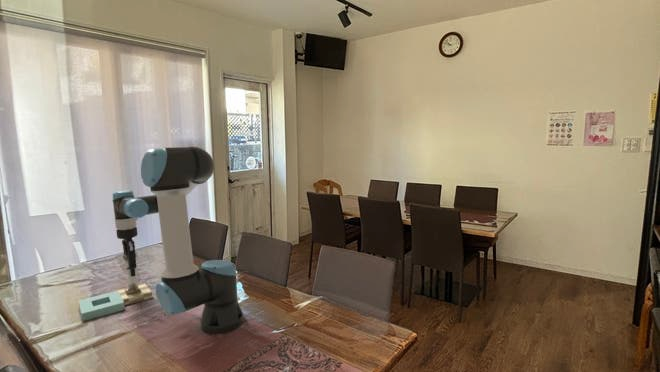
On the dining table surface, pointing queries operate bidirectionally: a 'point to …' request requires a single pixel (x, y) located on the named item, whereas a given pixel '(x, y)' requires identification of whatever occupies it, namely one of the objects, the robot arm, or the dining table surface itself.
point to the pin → (130, 286)
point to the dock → (101, 305)
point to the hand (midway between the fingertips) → (132, 281)
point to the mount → (135, 294)
